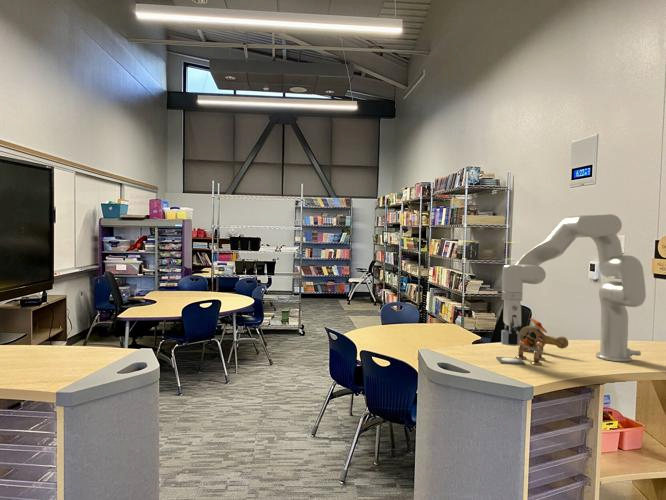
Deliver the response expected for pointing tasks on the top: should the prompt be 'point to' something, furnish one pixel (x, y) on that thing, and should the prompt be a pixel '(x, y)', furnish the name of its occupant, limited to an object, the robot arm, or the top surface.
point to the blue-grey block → (505, 338)
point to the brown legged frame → (536, 353)
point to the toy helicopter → (539, 337)
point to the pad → (510, 360)
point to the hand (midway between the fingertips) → (510, 341)
